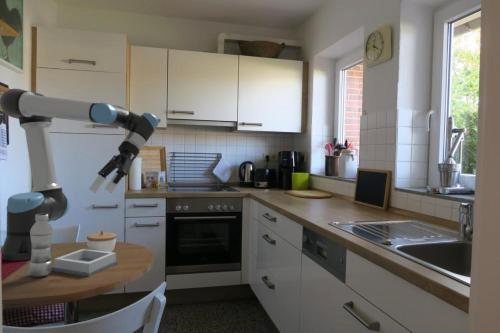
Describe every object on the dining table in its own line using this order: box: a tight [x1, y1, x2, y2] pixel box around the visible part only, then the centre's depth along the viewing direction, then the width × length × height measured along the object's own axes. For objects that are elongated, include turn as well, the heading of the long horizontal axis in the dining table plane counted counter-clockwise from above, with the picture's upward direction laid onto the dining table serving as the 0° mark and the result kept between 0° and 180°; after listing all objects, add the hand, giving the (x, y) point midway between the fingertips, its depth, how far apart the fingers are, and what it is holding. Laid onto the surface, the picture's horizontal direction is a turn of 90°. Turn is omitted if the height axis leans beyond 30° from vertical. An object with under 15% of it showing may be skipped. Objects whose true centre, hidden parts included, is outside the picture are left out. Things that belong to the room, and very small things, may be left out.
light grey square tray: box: [51, 248, 119, 277], centre depth 124 cm, size 15×15×4 cm
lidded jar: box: [86, 230, 117, 252], centre depth 139 cm, size 11×11×9 cm
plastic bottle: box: [28, 214, 53, 278], centre depth 113 cm, size 6×7×20 cm
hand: (99, 190), depth 128 cm, fingers open, 13 cm apart
